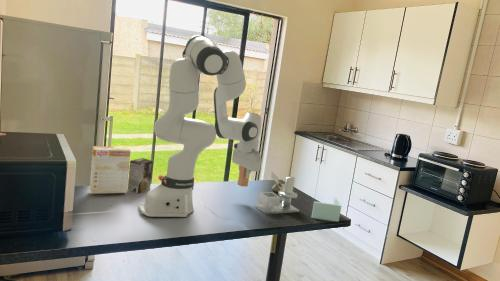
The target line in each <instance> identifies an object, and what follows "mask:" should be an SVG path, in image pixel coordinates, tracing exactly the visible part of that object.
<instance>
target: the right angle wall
mask: <svg viewBox="0 0 500 281" xmlns="http://www.w3.org/2000/svg"><path fill="white" fill-rule="evenodd" d="M341 212H342V205H341V203H340V200H338V198H337V197H334V200H333V203H327V202H321V201H313V206H312V211H311V219H318V220H325V221H331V222H339V221H340V215H341Z"/></svg>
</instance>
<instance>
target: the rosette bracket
mask: <svg viewBox="0 0 500 281" xmlns="http://www.w3.org/2000/svg"><path fill="white" fill-rule="evenodd" d="M295 181H296V180H295V177H293V176H289V175H287V176H286V177H285V181H284V184H285V187H284V190H279V191H278V192H277V194H278V195H277V194H275V193H274V192H270V191H269V192H259V193H258V202H259V203H255V204H254V207H255V208H256V209H258V210H259V211H261V213H262V212H263V214H265V215H274V214H288V213H299V212H300V209H298V208H297V207H295V206H294V205H292V198H293V199H297V198H298V193H297V192H296V191H295V192H294V186H295V185H294V184H295Z"/></svg>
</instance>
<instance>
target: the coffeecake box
mask: <svg viewBox="0 0 500 281" xmlns="http://www.w3.org/2000/svg"><path fill="white" fill-rule="evenodd" d="M130 161H131V149H130V148H129V147H128V146H107V145H105V146H103V145H101V146H98V145H93V146H92V151H91V165H90V179H89V191H90V194H92V195H93V194H95V195H96V194H127V193H128V191H127V189H128V179H129V168H130Z"/></svg>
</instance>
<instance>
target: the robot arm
mask: <svg viewBox="0 0 500 281" xmlns="http://www.w3.org/2000/svg"><path fill="white" fill-rule="evenodd" d="M201 73H202V74H204V75H207V76H216V79H217V86H216V87H215V89H214V90H213V91H214V92H213V107H214V108H213V109H214V124H213V123H211V122H209V121H205V120H203V119H196V118H190V117H186V115H187V114H191V113H193V112H194V111H196V109H198V107H199V103H200V102H199V94H200V93H199V92H200V91H199V88H200V87H199V78H200V75H201ZM246 81H247V80H246V76H245V70H244V68H243V62H242V60H241V59H240V56H239V54H238V53H237V52H236V51H234V50H232V49H231V50H230V49H227V50H222V49H220V47H218V45H217V44H216V43H215V42H214V41H212V40H211V39H210V38H209V37H207V36H205V35H202V34H195V35H193V36H191V37H190V38H189V39H188V40H187V42H186V44H185V47H184V50H183V51H182V58H178V59H175V60H173V62H172V63H171V66H170V71H169V81H168V82H169V83H168V84H169V88H168V89H169V102H168V103H169V104H168V105H169V106H168V108H167V110H166V112H165V113H163V115H160V116H159V117H158V118H157V119H156V121H155V122H154V127H153V131H154V134H155V137H157V138H156V139H160V140H162V141H165V142H167V143H173V144H178V145H179V144H180V145H183V149H182V150H180V151H177V152H174V153H172V154H171V155H170V156H169V158H168V159H167V169H166V170H167V171H166V175H165V176H163V174H158V176H157V177H158V180H159V181H161V183H160V184H159V185H157V187H154V188H153V189H150V191H149V192H147V194H146V196H145V200H144V202H143V201H142V202H140V203H139V204H138V210H139V211H140V212H141V213H142V214H143V215H145V216H147V217H163V218H164V217H165V218H167V217H169V218H171V217H172V218H175V217H176V218H177V217H179V218H181V217H182V218H184V217H187V216H188V214H189V215H190V214H191V213H193V211H194V204H193V190H194V187H195V177H194V175H195V168H196V163H197V160H198V158H199V156H200V155H201V153H202V152H203V151H204V150H206V149H207V148H209V147H210V146H212V145H213V143H214V142H215V141H216V138H217V137H218V138H220V139H227V140H232V141H233V140H234V141H238V142H236V143H234V144H233V150H232V156H231V160H232V163H233V164H235V165H238V170H239V172H240V166H242V167H244V168H247V169H246V171H247V172H246V174H245V176H244V177H245V178H249V179H250V175H251V173H252V172H260V171H261V165H262V156H261V154H260V151H259V148H258V147H259V143H260V141H259V140H260V139H259V137H260V134H261V129H262V117H261V115H259V114H258V113H254V112H249V111H248V112H245V113H244V117H243V118H236V117H231V116H229V115H228V111H227V110H228V109H227V107H228V106H227V102H228V101H231V100H235V99H238V97H240V96H242V94H244V92H245V90H246V85H247V84H246V83H247V82H246ZM239 172H238V173H239Z"/></svg>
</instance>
